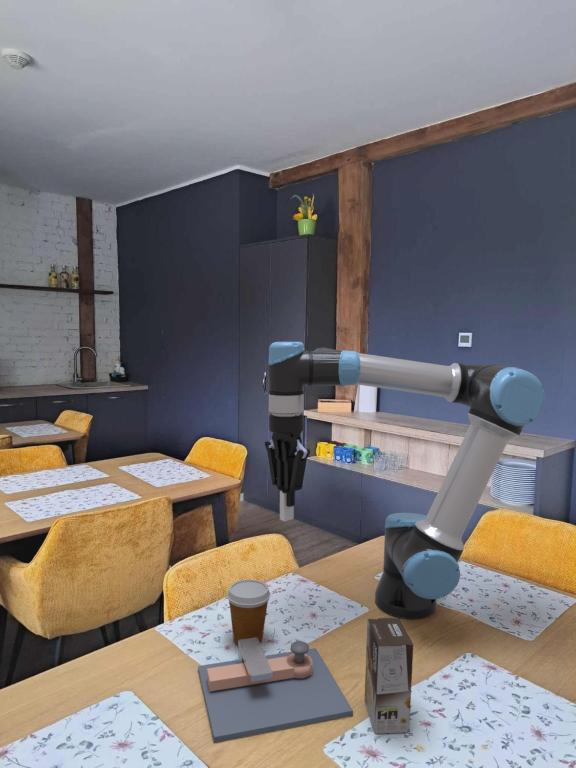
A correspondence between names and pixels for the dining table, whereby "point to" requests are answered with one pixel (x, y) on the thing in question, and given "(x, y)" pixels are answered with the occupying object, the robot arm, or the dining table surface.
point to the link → (281, 667)
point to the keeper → (254, 659)
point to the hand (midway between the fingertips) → (286, 519)
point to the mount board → (273, 702)
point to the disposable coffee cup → (248, 608)
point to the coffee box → (388, 675)
